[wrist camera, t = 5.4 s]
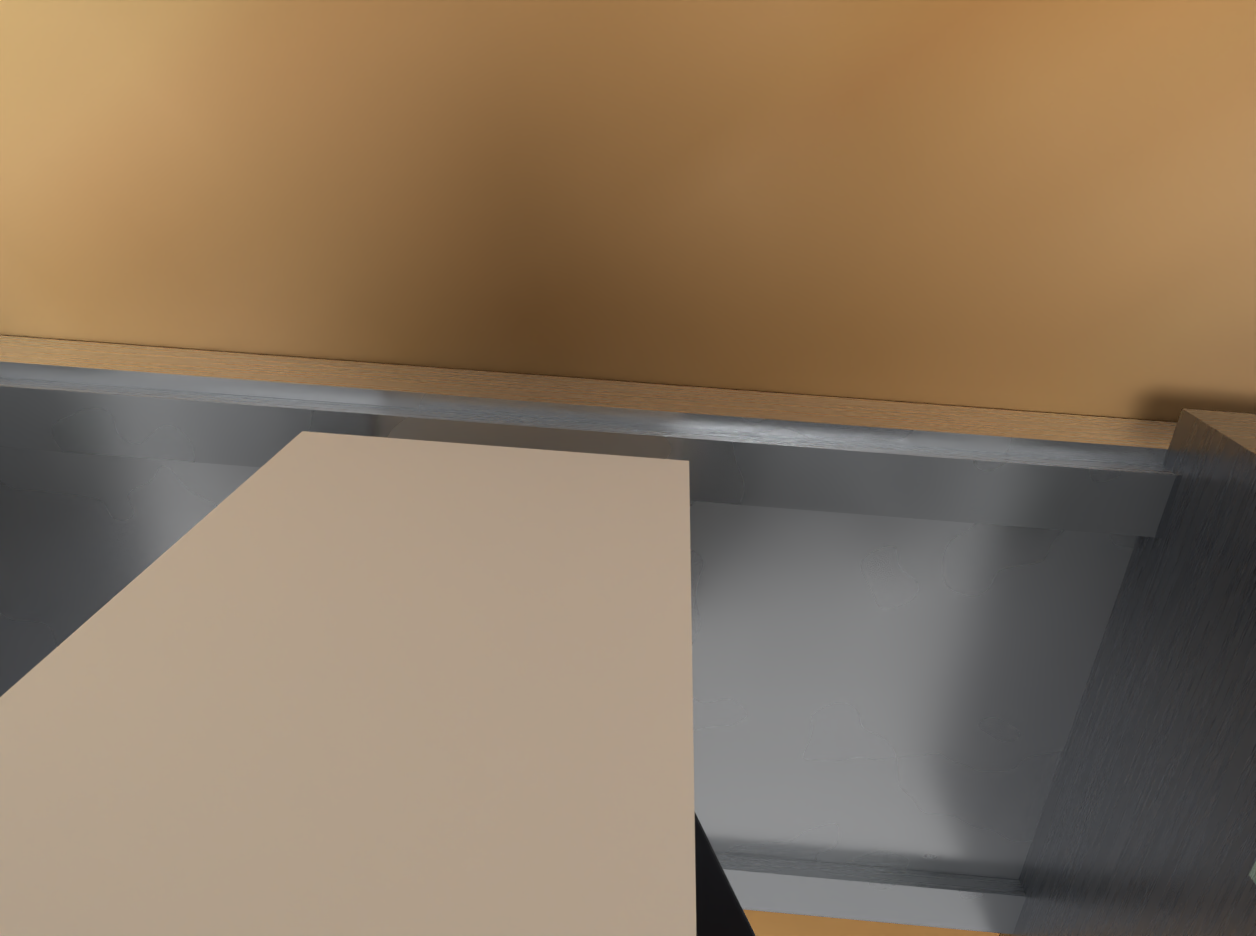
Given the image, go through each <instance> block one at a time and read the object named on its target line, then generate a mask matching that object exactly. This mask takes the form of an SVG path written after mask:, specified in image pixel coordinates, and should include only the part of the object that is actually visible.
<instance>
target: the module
mask: <svg viewBox="0 0 1256 936" xmlns="http://www.w3.org/2000/svg"><path fill="white" fill-rule="evenodd" d="M0 936H696V875H695V811H694V746H693V682H692V617H691V553H690V488H689V461H685V460H672V459H659V458H646V457H633V456H620V455H606V454H593V453H580V452H567V451H554V450H541V449H528V448H515V447H502V446H489V445H476V444H463V443H450V442H437V441H424V440H411V439H398V438H385V437H372V436H359V435H346V434H333V433H320V432H306V431H302V432H301V433H300V434H299V435H297V436H296V437H295V438H294V439H293V440H292V441H291V442H289V443H288V444H287V445H286V446H285V447H284V448H283V449H281V450H280V451H279V452H278V453H277V454H276V455H275V456H274V457H272V458H271V459H270V460H269V461H268V462H267V463H266V464H264V465H263V466H262V467H261V468H260V469H259V470H258V471H256V472H255V473H254V474H253V475H252V476H251V477H250V478H249V479H247V480H246V481H245V482H244V483H243V484H242V485H241V486H239V487H238V488H237V489H236V490H235V491H234V492H233V493H232V494H230V495H229V496H228V497H227V498H226V499H225V500H224V501H222V502H221V503H220V504H219V505H218V506H217V507H216V508H214V509H213V510H212V511H211V512H210V513H209V514H208V515H207V516H205V517H204V518H203V519H202V520H201V521H200V522H199V523H197V524H196V525H195V526H194V527H193V528H192V529H191V530H190V531H188V532H187V533H186V534H185V535H184V536H183V537H182V538H180V539H179V540H178V541H177V542H176V543H175V544H174V545H172V546H171V547H170V548H169V549H168V550H167V551H166V552H165V553H163V554H162V555H161V556H160V557H159V558H158V559H157V560H155V561H154V562H153V563H152V564H151V565H150V566H149V567H147V568H146V569H145V570H144V571H143V572H142V573H141V574H140V575H138V576H137V577H136V578H135V579H134V580H133V581H132V582H130V583H129V584H128V585H127V586H126V587H125V588H124V589H123V590H121V591H120V592H119V593H118V594H117V595H116V596H115V597H113V598H112V599H111V600H110V601H109V602H108V603H107V604H105V605H104V606H103V607H102V608H101V609H100V610H99V611H98V612H96V613H95V614H94V615H93V616H92V617H91V618H90V619H88V620H87V621H86V622H85V623H84V624H83V625H82V626H81V627H79V628H78V629H77V630H76V631H75V632H74V633H73V634H71V635H70V636H69V637H68V638H67V639H66V640H65V641H63V642H62V643H61V644H60V645H59V646H58V647H57V648H56V649H54V650H53V651H52V652H51V653H50V654H49V655H48V656H46V657H45V658H44V659H43V660H42V661H41V662H40V663H38V664H37V665H36V666H35V667H34V668H33V669H32V670H31V671H29V672H28V673H27V674H26V675H25V676H24V677H23V678H21V679H20V680H19V681H18V682H17V683H16V684H15V685H14V686H12V687H11V688H10V689H9V690H8V691H7V692H6V693H4V694H3V695H2V696H1V697H0Z"/></svg>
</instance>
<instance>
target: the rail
mask: <svg viewBox="0 0 1256 936" xmlns="http://www.w3.org/2000/svg"><path fill="white" fill-rule="evenodd" d="M302 431H306V432H320V433H333V434H346V435H359V436H372V437H385V438H398V439H411V440H424V441H437V442H450V443H463V444H476V445H489V446H502V447H515V448H528V449H541V450H554V451H567V452H580V453H593V454H606V455H620V456H633V457H646V458H659V459H672V460H685V461H689V488H690V553H691V617H692V682H693V746H694V811H695V813H696V815H697V817H698V819H699V821H700V823H701V825H702V827H703V829H704V831H705V833H706V835H707V837H708V839H709V841H710V843H711V846H712V848H713V850H714V852H715V854H716V856H717V858H718V860H719V862H720V864H721V866H722V868H723V870H724V872H725V874H726V876H727V878H728V880H729V882H730V884H731V887H732V889H733V891H734V893H735V895H736V897H737V899H738V901H739V903H740V905H741V907H742V909H745V910H756V911H767V912H778V913H789V914H799V915H810V916H821V917H832V918H843V919H853V920H864V921H875V922H886V923H897V924H907V925H918V926H929V927H940V928H951V929H961V930H972V931H983V932H994V933H1000V935H999V936H1256V414H1250V413H1237V412H1223V411H1209V410H1196V409H1182V410H1181V413H1180V416H1179V419H1178V422H1177V423H1176V422H1163V421H1149V420H1136V419H1122V418H1109V417H1095V416H1082V415H1068V414H1055V413H1041V412H1028V411H1014V410H1001V409H987V408H974V407H961V406H947V405H934V404H920V403H907V402H893V401H880V400H866V399H853V398H839V397H826V396H812V395H799V394H785V393H772V392H758V391H745V390H731V389H718V388H704V387H691V386H677V385H664V384H650V383H637V382H623V381H610V380H596V379H583V378H569V377H556V376H542V375H529V374H515V373H502V372H488V371H475V370H461V369H448V368H434V367H421V366H407V365H394V364H380V363H367V362H353V361H340V360H326V359H313V358H299V357H286V356H272V355H259V354H245V353H232V352H218V351H205V350H191V349H178V348H164V347H151V346H137V345H124V344H110V343H97V342H83V341H70V340H56V339H43V338H29V337H16V336H2V335H0V697H1V696H2V695H3V694H4V693H6V692H7V691H8V690H9V689H10V688H11V687H12V686H14V685H15V684H16V683H17V682H18V681H19V680H20V679H21V678H23V677H24V676H25V675H26V674H27V673H28V672H29V671H31V670H32V669H33V668H34V667H35V666H36V665H37V664H38V663H40V662H41V661H42V660H43V659H44V658H45V657H46V656H48V655H49V654H50V653H51V652H52V651H53V650H54V649H56V648H57V647H58V646H59V645H60V644H61V643H62V642H63V641H65V640H66V639H67V638H68V637H69V636H70V635H71V634H73V633H74V632H75V631H76V630H77V629H78V628H79V627H81V626H82V625H83V624H84V623H85V622H86V621H87V620H88V619H90V618H91V617H92V616H93V615H94V614H95V613H96V612H98V611H99V610H100V609H101V608H102V607H103V606H104V605H105V604H107V603H108V602H109V601H110V600H111V599H112V598H113V597H115V596H116V595H117V594H118V593H119V592H120V591H121V590H123V589H124V588H125V587H126V586H127V585H128V584H129V583H130V582H132V581H133V580H134V579H135V578H136V577H137V576H138V575H140V574H141V573H142V572H143V571H144V570H145V569H146V568H147V567H149V566H150V565H151V564H152V563H153V562H154V561H155V560H157V559H158V558H159V557H160V556H161V555H162V554H163V553H165V552H166V551H167V550H168V549H169V548H170V547H171V546H172V545H174V544H175V543H176V542H177V541H178V540H179V539H180V538H182V537H183V536H184V535H185V534H186V533H187V532H188V531H190V530H191V529H192V528H193V527H194V526H195V525H196V524H197V523H199V522H200V521H201V520H202V519H203V518H204V517H205V516H207V515H208V514H209V513H210V512H211V511H212V510H213V509H214V508H216V507H217V506H218V505H219V504H220V503H221V502H222V501H224V500H225V499H226V498H227V497H228V496H229V495H230V494H232V493H233V492H234V491H235V490H236V489H237V488H238V487H239V486H241V485H242V484H243V483H244V482H245V481H246V480H247V479H249V478H250V477H251V476H252V475H253V474H254V473H255V472H256V471H258V470H259V469H260V468H261V467H262V466H263V465H264V464H266V463H267V462H268V461H269V460H270V459H271V458H272V457H274V456H275V455H276V454H277V453H278V452H279V451H280V450H281V449H283V448H284V447H285V446H286V445H287V444H288V443H289V442H291V441H292V440H293V439H294V438H295V437H296V436H297V435H299V434H300V433H301V432H302Z"/></svg>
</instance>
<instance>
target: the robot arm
mask: <svg viewBox="0 0 1256 936" xmlns="http://www.w3.org/2000/svg"><path fill="white" fill-rule="evenodd" d="M695 875H696V936H755V934H754V932H753V930H752V928H751V925H750V923H749V921H748V919H747V917H746V915H745V913H744V911H743V909H742V907H741V905H740V903H739V901H738V899H737V897H736V895H735V893H734V891H733V889H732V887H731V884H730V882H729V880H728V878H727V876H726V874H725V872H724V870H723V868H722V866H721V864H720V862H719V860H718V858H717V856H716V854H715V852H714V850H713V848H712V846H711V843H710V841H709V839H708V837H707V835H706V833H705V831H704V829H703V827H702V825H701V823H700V821H699V819H698V817H697V815H696V813H695Z"/></svg>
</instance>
